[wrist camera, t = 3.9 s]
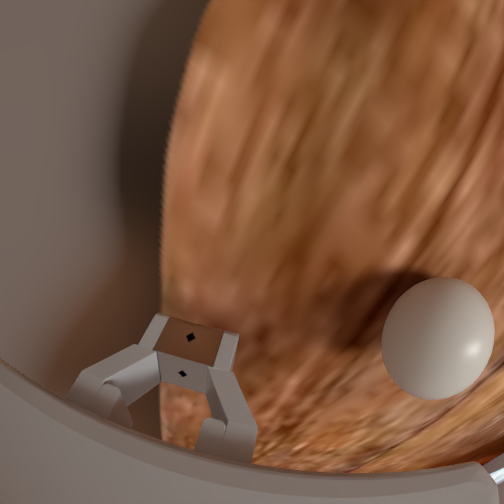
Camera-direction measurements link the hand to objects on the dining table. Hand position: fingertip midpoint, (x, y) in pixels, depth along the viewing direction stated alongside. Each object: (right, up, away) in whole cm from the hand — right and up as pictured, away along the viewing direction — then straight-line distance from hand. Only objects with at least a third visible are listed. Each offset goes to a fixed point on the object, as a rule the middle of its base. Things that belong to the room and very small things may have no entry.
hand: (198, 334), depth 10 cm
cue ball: (+10, -1, +1) cm, 10 cm away
